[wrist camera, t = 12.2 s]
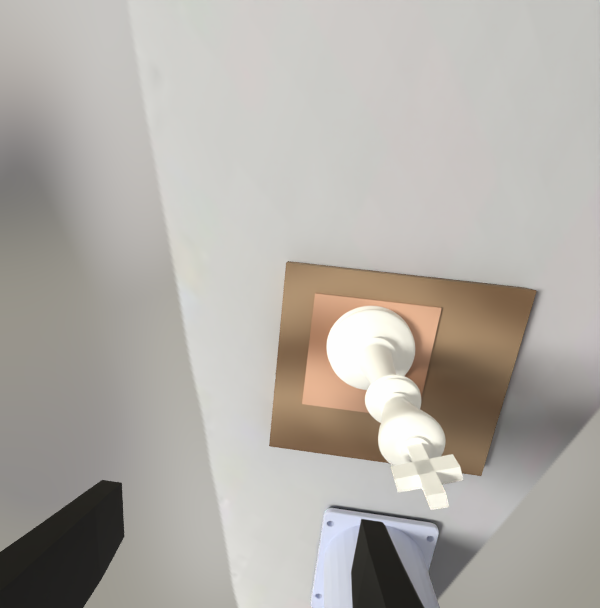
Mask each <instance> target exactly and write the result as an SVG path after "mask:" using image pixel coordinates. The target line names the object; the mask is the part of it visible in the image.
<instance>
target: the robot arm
mask: <svg viewBox="0 0 600 608" xmlns="http://www.w3.org/2000/svg"><path fill="white" fill-rule="evenodd" d="M438 535H439V531H438V528H437V526H436V525H435V524H434V523H430V522H424V521H417V520H410V519H403V518H397V517H390V516H383V515H376V514H370V513H363V512H356V511H350V510H343V509H336V508H328V509H326V510H325V512H324V517H323V523H322V530H321V536H320V543H319V550H318V556H317V563H316V569H315V576H314V582H313V589H312V595H311V606H312V608H440V607H439V604H438V601H437V598H436V595H435V592H434V588H433V585H432V582H431V579H430V576H429V573H428V571H429V568H430V564H431V560H432V557H433V553H434V549H435V546H436V542H437V539H438ZM123 538H124V521H123V500H122V483H119V482H112V481H105V480H102V481H100V482H99V483H97V484H96V485H94V486H93V487H92V488H90V489H89V490H88V491H86V492H85V493H83V494H82V495H80V496H79V497H78V498H76V499H75V500H73V501H72V502H71V503H69V504H68V505H66V506H65V507H64V508H62V509H61V510H60V511H58V512H57V513H55V514H54V515H52V516H51V517H50V518H48V519H47V520H45V521H44V522H43V523H41V524H40V525H38V526H37V527H36V528H34V529H33V530H31V531H30V532H28V533H27V534H26V535H24V536H23V537H21V538H20V539H18V540H17V541H15V542H14V543H13V544H11V545H10V546H8V547H7V548H5V549H4V550H3V551H1V552H0V608H83V607H84V605H85V604H86V602H87V601H88V599H89V598H90V596H91V595H92V593H93V592H94V590H95V588H96V587H97V585H98V584H99V582H100V581H101V579H102V577H103V575H104V573H105V572H106V570H107V568H108V566H109V564H110V562H111V561H112V559H113V557H114V555H115V553H116V551H117V549H118V547H119V545H120V543H121V542H122V540H123Z"/></svg>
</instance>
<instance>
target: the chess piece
mask: <svg viewBox="0 0 600 608" xmlns="http://www.w3.org/2000/svg"><path fill="white" fill-rule="evenodd" d="M327 356H328V359H329V362H330V364H331V366H332V368H333V370H334V372H335V373H336V374H337V376H338V377H339V378H340V379H341V380H343V381H344V382H345V383H347V384H348V385H350V386H352V387H355V388H358V389H362V390H367V392H366V395H365V405H366V408H367V410H368V412H369V413H370V415H371V416H372V417H373V418H374V419H375V420H377V421H378V422H380V423H381V425H380V428H379V434H378V445H379V449H380V452H381V454H382V455H383V457H384V458H385V459H386V460H387V461H388V462H389V463H390V464H391V465H393V466H391V470H392V474H393V477H394V481H395V484H396V487H397V490H398V492H404V491H409V490H414V489H420V488H422V490H423V492H424V495H425V497H426V499H427V502H428V504H429V507H430V509H431V510H434V509H440V508H446V507H449V504H448V500H447V496H446V492H445V490H444V488H443V486H442V484H447V483H452V482H458V481H463V476H462V472H461V467H460V465H459V464H458V462H457V460H456V459H455V457H454V455H453V454H451V455H446V456H441V455H442V454H443V451H444V448H445V442H446V441H445V434H444V431H443V429H442V427H441V426H440V424H439V423H438V422H437V421H436V420H435V419H434V418H433V417H431V416H430V415H428V414H427V413H426V412H424V411H422V410H420V407H421V394H420V390H419V388H418V387H417V385H416V384H415V383H414V382H413V381H412V380H411V379H409V378H407V377H405V375H406V373H407V372H408V371H409V369H410V367H411V366H412V363H413V360H414V357H415V341H414V337H413V335H412V332H411V330H410V328H409V326H408V325H407V323H406V322H405V321H404V319H403V318H402V317H400V316H399V315H398V314H397V313H395V312H393V311H392V310H389V309H387V308H384V307H380V306H363V307H358V308H355V309H353V310H351V311H349V312H347V313H345V314H344V315H343V316H341V317H340V318H339V319H338V320H337V321H336V322H335V324H334V325H333V327H332V328H331V330H330V332H329V335H328V339H327Z"/></svg>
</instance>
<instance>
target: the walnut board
mask: <svg viewBox="0 0 600 608" xmlns="http://www.w3.org/2000/svg"><path fill="white" fill-rule="evenodd" d="M535 295H536V290H532V289H527V288H523V287H514V286H505V285H496V284H487V283H478V282H469V281H460V280H451V279H442V278H433V277H424V276H415V275H406V274H397V273H388V272H379V271H370V270H361V269H352V268H343V267H334V266H325V265H316V264H307V263H298V262H289V261H288V262H287V263H286V271H285V281H284V292H283V303H282V314H281V325H280V336H279V346H278V357H277V368H276V379H275V390H274V400H273V411H272V422H271V433H270V444H269V446H272V447H279V448H286V449H293V450H300V451H307V452H314V453H322V454H329V455H336V456H343V457H350V458H357V459H364V460H371V461H378V462H386V463H389V462H388V461H387V460H386V459H385V458H384V457H383V455H382V454H381V452H380V449H379V445H378V434H379V428H380V425H381V423H380V422H378V421H377V420H375V419H374V418H373V417H372V416H371V415H370V413H369V412H368V410H367V408H366V405H365V395H366V392H367V390H362V389H358V388H355V387H352V386H350V385H348V384H347V383H345V382H344V381H343V380H341V379H340V378H339V377H338V376H337V374H336V373H335V372H334V370H333V368H332V366H331V364H330V362H329V359H328V356H327V339H328V335H329V332H330V330H331V328H332V327H333V325H334V324H335V322H336V321H337V320H338V319H339V318H340V317H341V316H343V315H344V314H345V313H347V312H349V311H351V310H353V309H355V308H358V307H363V306H380V307H384V308H387V309H389V310H392V311H393V312H395V313H397V314H398V315H399V316H400V317H402V318H403V319H404V321H405V322H406V323H407V325H408V326H409V328H410V330H411V332H412V335H413V337H414V341H415V357H414V360H413V363H412V366H411V367H410V369H409V371H408V372H407V373H406V375H405V377H407V378H409V379H411V380H412V381H413V382H414V383H415V384H416V385H417V387H418V388H419V390H420V394H421V407H420V410H422V411H424V412H426V413H427V414H428V415H430V416H431V417H433V418H434V419H435V420H436V421H437V422H438V423H439V424H440V426H441V427H442V429H443V431H444V434H445V441H446V442H445V448H444V451H443V454H442V455H441V456H446V455H451V454H453V455H454V457H455V459H456V460H457V462H458V464H459V465H460V467H461V472H462V473H464V474H471V475H478V476H481V475H482V471H483V468H484V465H485V461H486V458H487V455H488V451H489V448H490V445H491V441H492V438H493V435H494V431H495V428H496V425H497V421H498V418H499V415H500V411H501V408H502V405H503V401H504V398H505V395H506V391H507V388H508V385H509V381H510V378H511V375H512V371H513V368H514V365H515V361H516V358H517V355H518V351H519V348H520V345H521V341H522V338H523V335H524V331H525V328H526V325H527V321H528V318H529V315H530V311H531V308H532V305H533V301H534V298H535Z"/></svg>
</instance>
